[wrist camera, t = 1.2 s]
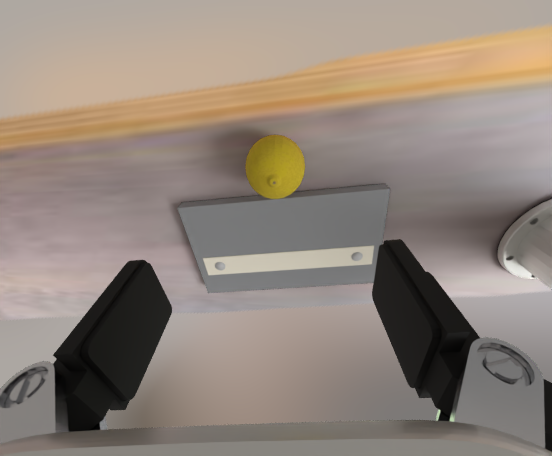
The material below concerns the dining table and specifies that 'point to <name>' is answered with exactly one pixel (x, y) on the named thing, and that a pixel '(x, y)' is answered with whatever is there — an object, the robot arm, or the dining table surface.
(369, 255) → the strip
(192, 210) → the panel
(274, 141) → the lemon
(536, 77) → the dining table surface
